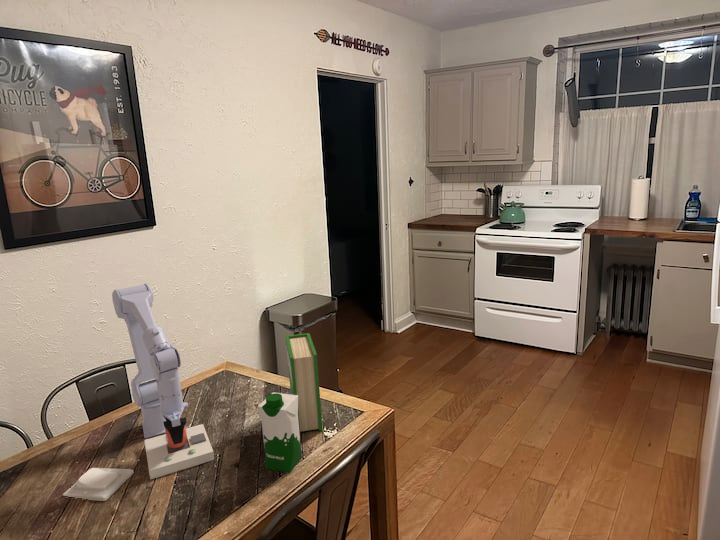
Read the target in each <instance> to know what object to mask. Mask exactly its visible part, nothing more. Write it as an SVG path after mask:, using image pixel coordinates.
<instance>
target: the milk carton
mask: <svg viewBox="0 0 720 540" xmlns="http://www.w3.org/2000/svg"><path fill="white" fill-rule="evenodd" d="M257 410H258V412H259V415H260V420H261V428H262V437H263V447H264V459H265V460H264V461H265V469H267V470H272V471H278V472H281V473H282V472H284V473H289V474H291V473H292V471H293V470H294V468H295V467H296V465H298V463H299V461H300V460H301V459H302V457H303V454H302V447H301V437H300V436H301V434H300V435H299V423H298V395H291V393H281V392H271V393H270V394H268V395H267V396H266V397H265V398H264V400H263V401H262V402H261V403H260V404H258V406H257Z"/></svg>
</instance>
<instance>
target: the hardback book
mask: <svg viewBox="0 0 720 540" xmlns="http://www.w3.org/2000/svg"><path fill="white" fill-rule="evenodd" d="M285 344H286V354H287V364H288V365H287V368H288V376H289V386H290V387H289V389H290V395H298V423H299V435H300V436H301V432H307V431H312V430H318V431H319V433H321V432H320V431H322V432H323V431H324V430H323V421H322V420H323V419H322V417H323V416H322V406H321V405H322V404H321V393H320V380H319V378H320V377H319V367H318V365H319V364H318V363H319V362H318V353H317V351H316V347H315V346H314V343H313V339H312V336H311V334H310V333H309V332H307V333H306V332H305V333H297V334H291V335H285Z"/></svg>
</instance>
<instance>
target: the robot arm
mask: <svg viewBox="0 0 720 540" xmlns="http://www.w3.org/2000/svg"><path fill="white" fill-rule="evenodd" d="M111 297H112V303H113V308H114V312H115V314H116V316H117V318H118V319H123V321H124V322H125V324H126V326H127V331H128V334H129V338H130V342H131V347H132V351H133V354H134V359H135V363H136V366H137V371H138V373H137V374H136V375H135V376H134V378H133V379H132V380H131V382H130V386H131V395H132V399H133V402H134V404H135V405H136V406H137V407H140V411H141V414H142V424H141V425H142V430H143V437H144V439H149V438H153V437H156V436H160V435H164V434H166V432H165V428H166V429H167V430H168V431H169V433H170V435H171V438H172V441H173V443H174V444H178V443H182V441H183V430H184V426H186V424H187V417H186V416H185V417H182V418H181V416H182V414H183V412H184V410H185V409H186V408H189V403H188V402H187V401H183V393H182V392H183V391H182V386H181V380H180V379H181V378H180V371H179V368H180V367H181V364H182V363H181V361H182V360H181V357H180V353H179V350H178V349H177V347H176V346H175V345H174V344H173V343H170V341H169V339H168V337H167V334H166V333H165V330H164V328H162V327H160V326H158V325H157V323H156V320H155V317H154V313H153V311H152V307H153V302H154V293H153V289H152V287H151V286H150V285H149V284H148V283H144V284H140V285H134V286H130V287H125V288H118V289H113V291H112V293H111Z"/></svg>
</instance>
